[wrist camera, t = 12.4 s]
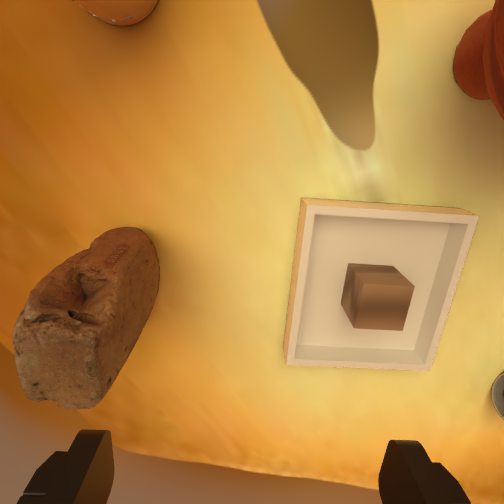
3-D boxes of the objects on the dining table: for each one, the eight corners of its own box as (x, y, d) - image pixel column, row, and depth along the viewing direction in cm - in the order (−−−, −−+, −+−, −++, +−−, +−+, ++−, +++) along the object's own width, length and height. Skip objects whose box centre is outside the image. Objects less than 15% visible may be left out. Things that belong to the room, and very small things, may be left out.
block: (160, 301, 46) (104, 422, 28) (104, 296, 46) (9, 415, 27) (163, 226, 42) (100, 306, 24) (102, 219, 42) (-12, 296, 23)
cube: (348, 263, 44) (363, 283, 38) (393, 265, 44) (414, 286, 39) (340, 303, 46) (353, 328, 40) (383, 305, 46) (402, 330, 41)
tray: (301, 197, 42) (307, 204, 38) (458, 208, 43) (479, 216, 39) (282, 346, 49) (286, 364, 46) (416, 352, 50) (430, 370, 47)
